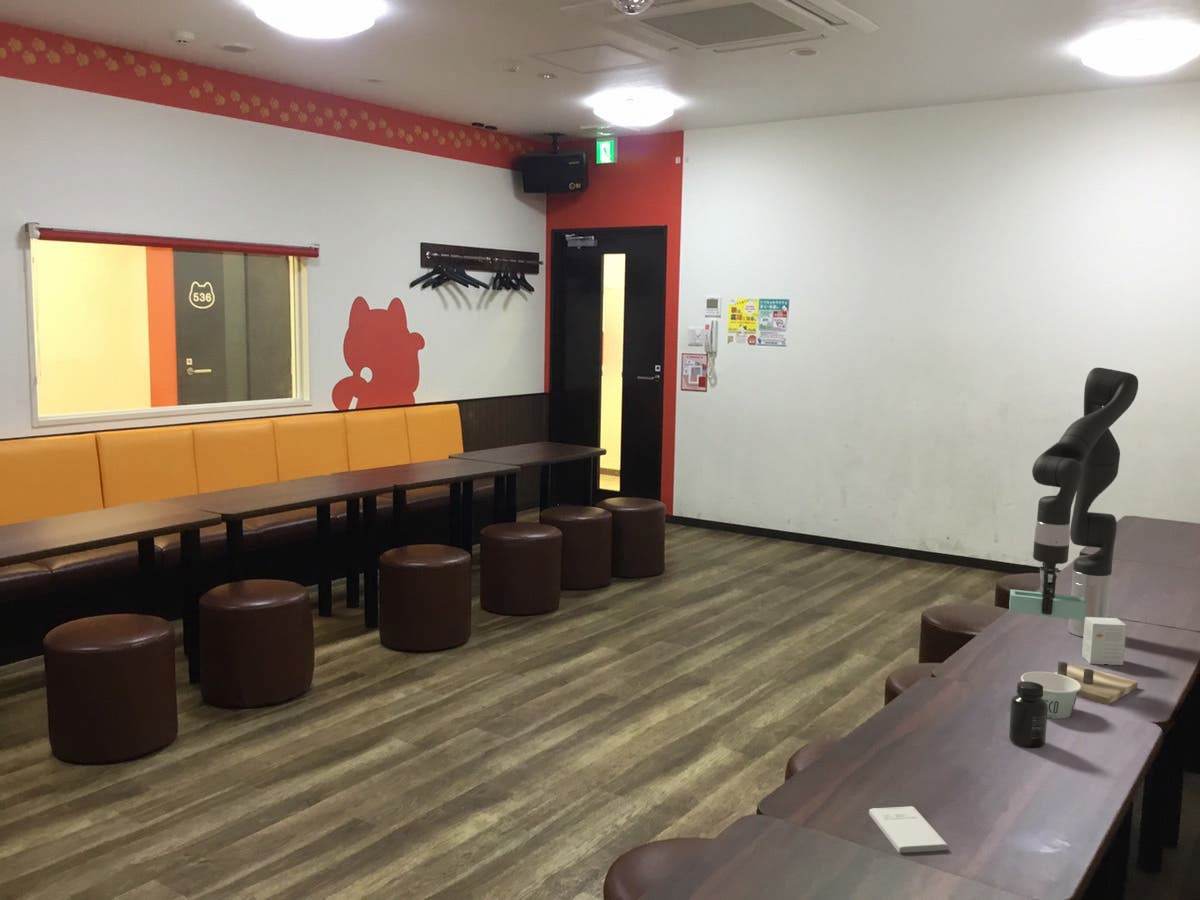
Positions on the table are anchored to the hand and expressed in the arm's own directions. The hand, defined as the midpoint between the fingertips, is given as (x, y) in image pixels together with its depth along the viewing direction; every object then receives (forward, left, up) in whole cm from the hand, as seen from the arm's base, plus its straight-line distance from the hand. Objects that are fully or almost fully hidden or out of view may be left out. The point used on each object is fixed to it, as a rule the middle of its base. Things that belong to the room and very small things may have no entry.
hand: (1046, 610), depth 233 cm
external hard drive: (+89, +20, -17) cm, 93 cm away
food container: (+19, +11, -16) cm, 28 cm away
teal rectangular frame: (0, 0, -1) cm, 1 cm away
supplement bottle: (+39, +16, -16) cm, 46 cm away
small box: (-22, +5, -16) cm, 27 cm away
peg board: (-2, +11, -16) cm, 19 cm away
